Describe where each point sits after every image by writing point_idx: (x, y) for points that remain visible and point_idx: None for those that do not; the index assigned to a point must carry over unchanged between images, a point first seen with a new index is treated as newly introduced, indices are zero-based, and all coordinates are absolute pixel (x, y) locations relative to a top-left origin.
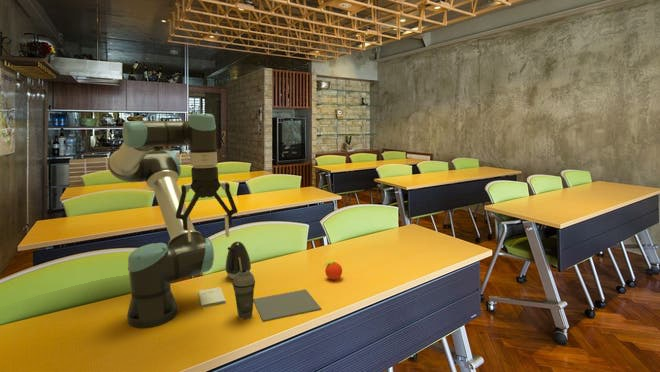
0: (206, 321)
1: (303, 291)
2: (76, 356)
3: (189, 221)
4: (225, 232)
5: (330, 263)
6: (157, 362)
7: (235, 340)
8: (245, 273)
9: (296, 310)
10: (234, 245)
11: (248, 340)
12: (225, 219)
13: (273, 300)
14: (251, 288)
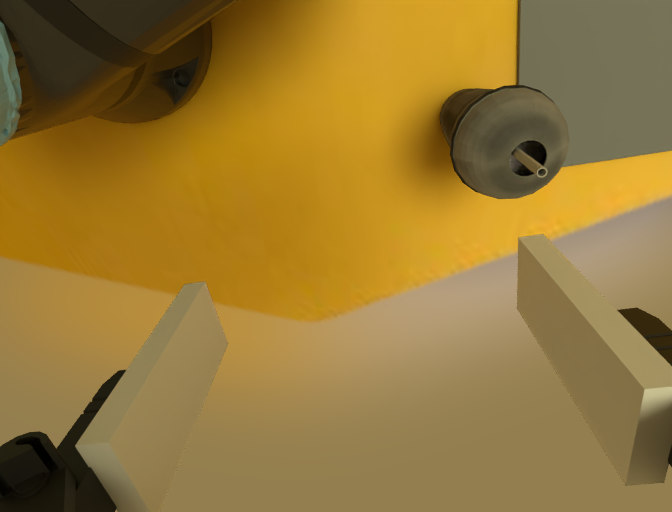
0: (330, 122)
1: None
2: (20, 228)
3: (159, 507)
4: (527, 250)
5: None
6: (236, 295)
7: (419, 253)
8: (533, 181)
9: (653, 133)
10: None
11: (453, 261)
12: (602, 416)
13: (603, 16)
14: (528, 174)
